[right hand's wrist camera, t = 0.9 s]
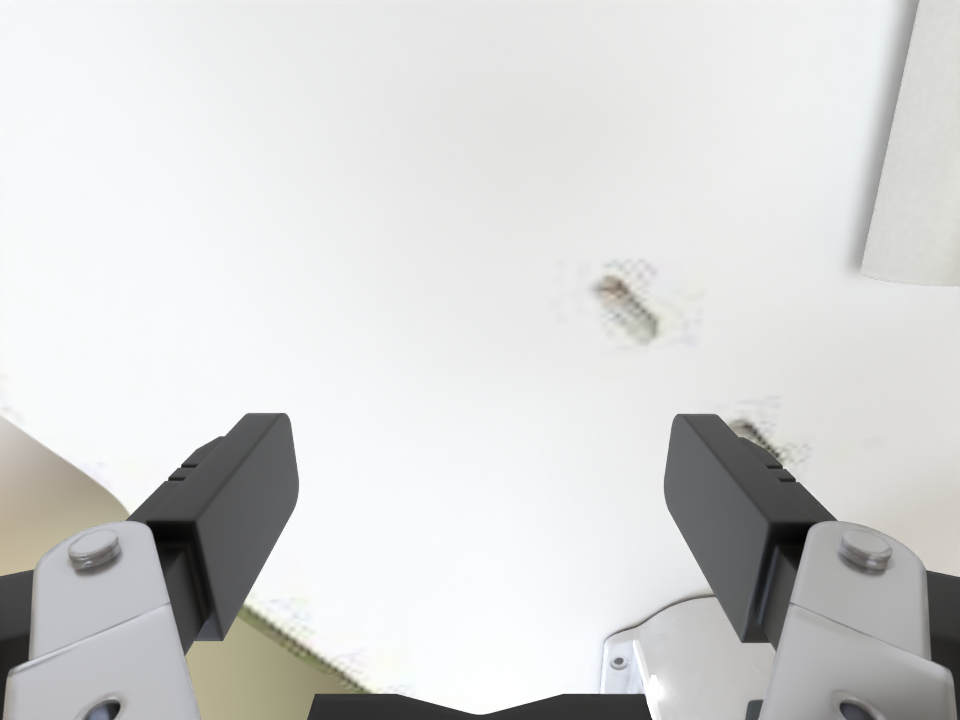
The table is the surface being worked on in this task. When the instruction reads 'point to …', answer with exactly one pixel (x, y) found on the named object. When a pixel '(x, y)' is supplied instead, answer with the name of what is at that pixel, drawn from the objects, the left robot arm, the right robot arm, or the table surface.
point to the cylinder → (922, 161)
